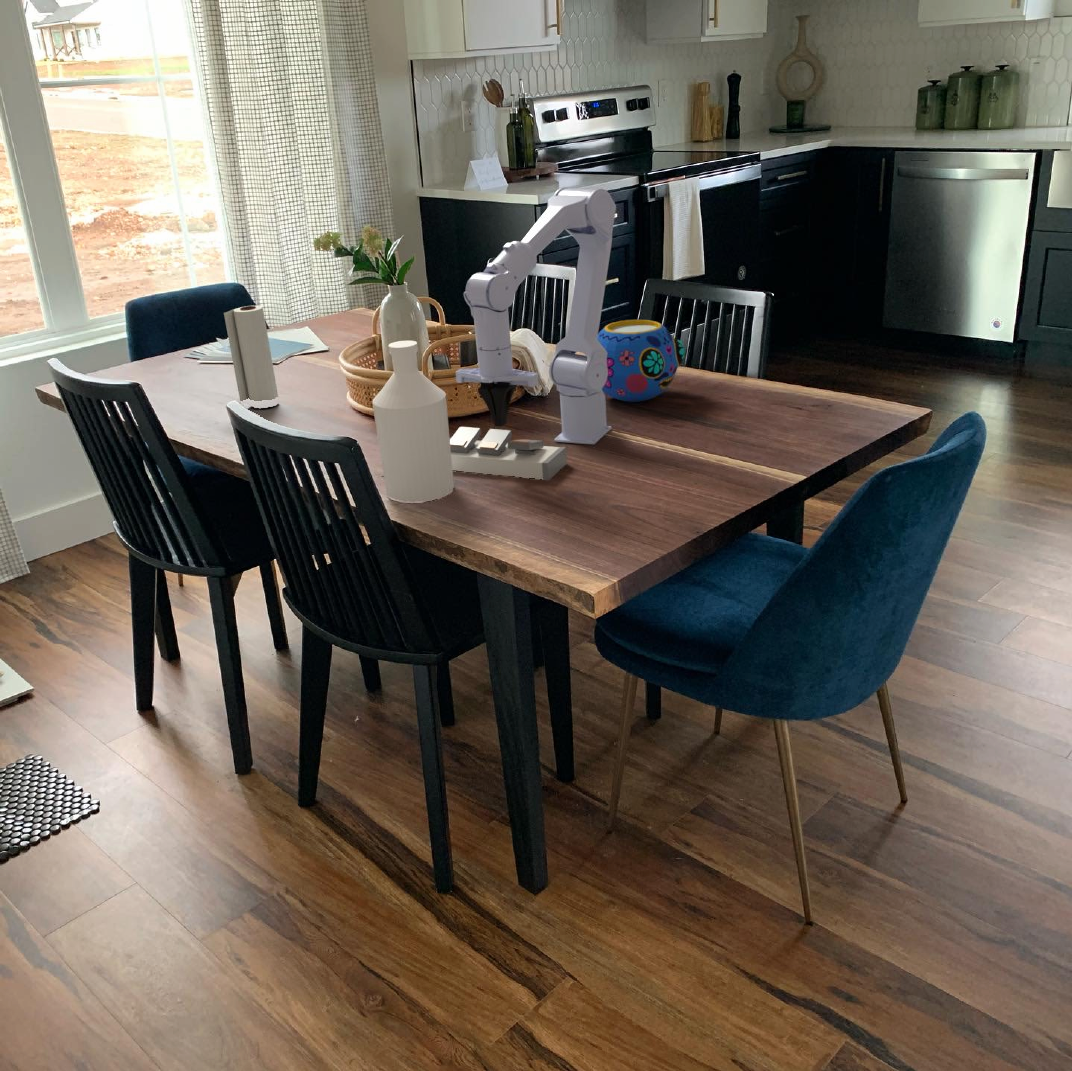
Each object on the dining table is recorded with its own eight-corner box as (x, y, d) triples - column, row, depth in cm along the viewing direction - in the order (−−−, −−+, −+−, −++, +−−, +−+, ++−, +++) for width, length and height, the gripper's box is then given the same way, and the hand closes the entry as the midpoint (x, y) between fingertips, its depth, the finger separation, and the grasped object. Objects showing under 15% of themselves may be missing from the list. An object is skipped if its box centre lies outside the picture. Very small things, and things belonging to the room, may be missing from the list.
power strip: (421, 450, 198) (418, 432, 196) (566, 463, 186) (565, 444, 185) (398, 466, 191) (396, 447, 189) (548, 480, 179) (547, 460, 178)
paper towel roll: (283, 401, 234) (266, 303, 225) (274, 409, 229) (257, 310, 220) (251, 402, 235) (233, 305, 226) (241, 410, 229) (223, 311, 221)
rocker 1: (461, 432, 191) (459, 425, 190) (481, 433, 189) (479, 427, 189) (447, 451, 187) (445, 444, 186) (467, 453, 185) (465, 446, 184)
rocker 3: (522, 446, 187) (522, 438, 186) (543, 447, 185) (543, 439, 185) (507, 448, 181) (507, 440, 181) (529, 450, 180) (529, 442, 179)
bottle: (370, 493, 179) (350, 347, 169) (425, 473, 187) (408, 331, 177) (414, 510, 171) (396, 357, 161) (470, 487, 179) (455, 340, 169)
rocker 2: (491, 434, 189) (490, 427, 188) (512, 436, 187) (510, 429, 186) (477, 453, 185) (476, 447, 184) (498, 455, 183) (497, 448, 182)
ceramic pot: (650, 416, 207) (648, 340, 201) (575, 404, 217) (571, 332, 211) (695, 392, 220) (694, 319, 213) (622, 382, 230) (619, 313, 224)
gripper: (444, 350, 177) (452, 428, 182) (523, 354, 171) (529, 435, 177) (463, 340, 183) (471, 416, 188) (541, 343, 177) (546, 421, 182)
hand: (500, 424), depth 183 cm, fingers closed
